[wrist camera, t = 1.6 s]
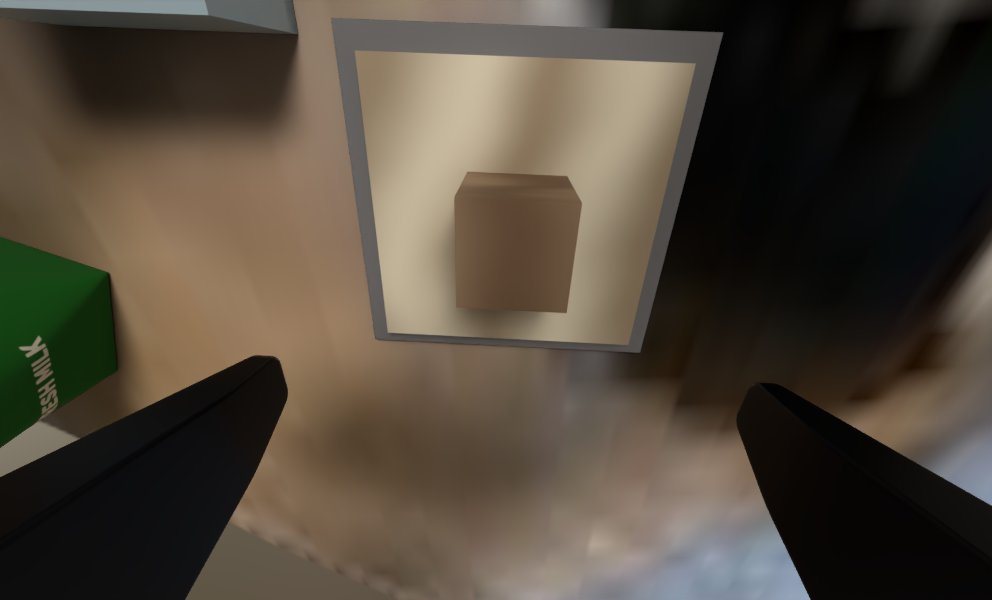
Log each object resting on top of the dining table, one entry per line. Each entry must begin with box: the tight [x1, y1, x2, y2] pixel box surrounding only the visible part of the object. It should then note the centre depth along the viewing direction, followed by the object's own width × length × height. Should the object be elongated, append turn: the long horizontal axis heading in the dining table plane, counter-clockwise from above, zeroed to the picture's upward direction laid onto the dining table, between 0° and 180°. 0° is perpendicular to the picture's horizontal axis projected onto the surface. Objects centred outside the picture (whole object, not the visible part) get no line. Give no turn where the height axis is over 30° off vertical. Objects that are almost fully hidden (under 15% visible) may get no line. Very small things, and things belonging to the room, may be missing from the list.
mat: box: [331, 18, 723, 353], centre depth 18 cm, size 14×14×1 cm
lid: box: [355, 50, 696, 345], centre depth 15 cm, size 12×12×5 cm
